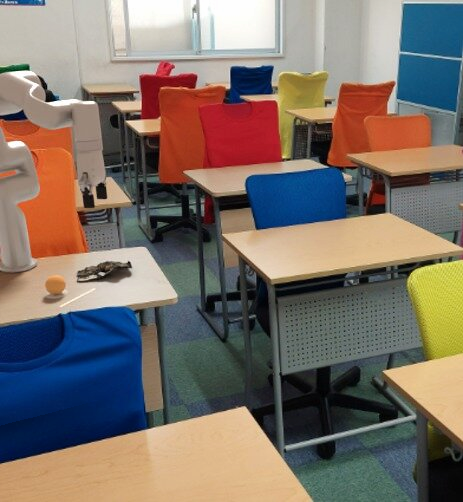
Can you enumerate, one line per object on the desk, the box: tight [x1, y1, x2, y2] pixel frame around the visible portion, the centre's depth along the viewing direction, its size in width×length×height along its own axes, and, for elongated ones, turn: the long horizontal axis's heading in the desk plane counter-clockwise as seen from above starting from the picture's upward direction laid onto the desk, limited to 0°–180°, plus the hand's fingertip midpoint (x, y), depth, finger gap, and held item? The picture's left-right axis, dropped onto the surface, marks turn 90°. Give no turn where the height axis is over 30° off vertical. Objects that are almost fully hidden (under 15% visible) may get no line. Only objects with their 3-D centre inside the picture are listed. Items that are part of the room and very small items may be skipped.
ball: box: [44, 274, 67, 295], centre depth 189 cm, size 6×6×6 cm
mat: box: [44, 287, 96, 308], centre depth 188 cm, size 20×16×1 cm
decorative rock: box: [76, 260, 133, 282], centre depth 205 cm, size 19×6×15 cm
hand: (96, 203), depth 183 cm, fingers open, 9 cm apart
